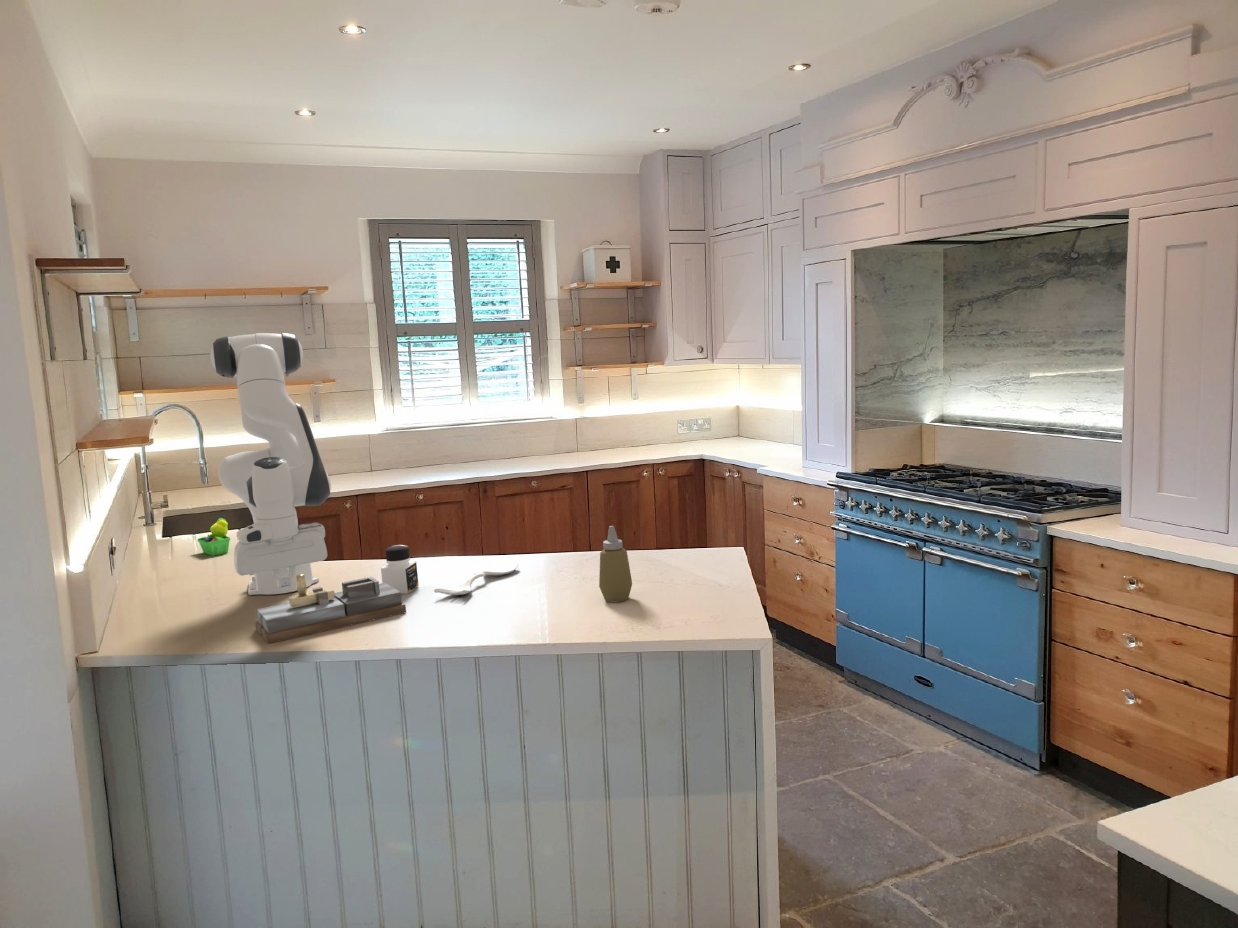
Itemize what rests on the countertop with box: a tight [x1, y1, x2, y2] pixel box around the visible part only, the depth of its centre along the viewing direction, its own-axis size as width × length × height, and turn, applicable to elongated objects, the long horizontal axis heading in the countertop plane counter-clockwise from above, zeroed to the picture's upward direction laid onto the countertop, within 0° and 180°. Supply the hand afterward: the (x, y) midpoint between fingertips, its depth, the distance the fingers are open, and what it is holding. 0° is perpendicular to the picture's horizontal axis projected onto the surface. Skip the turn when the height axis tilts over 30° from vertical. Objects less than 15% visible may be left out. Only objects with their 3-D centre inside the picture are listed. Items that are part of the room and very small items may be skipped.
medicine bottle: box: [380, 544, 420, 595], centre depth 237 cm, size 7×7×12 cm
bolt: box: [288, 574, 335, 607], centre depth 212 cm, size 2×10×7 cm, turn 123°
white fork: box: [433, 560, 519, 596], centre depth 239 cm, size 9×32×4 cm, turn 158°
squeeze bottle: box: [598, 525, 633, 603], centre depth 215 cm, size 8×8×18 cm
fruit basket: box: [197, 517, 231, 557], centre depth 303 cm, size 11×9×11 cm
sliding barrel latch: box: [254, 576, 407, 644], centre depth 214 cm, size 14×32×8 cm, turn 123°
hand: (285, 586), depth 208 cm, fingers closed
